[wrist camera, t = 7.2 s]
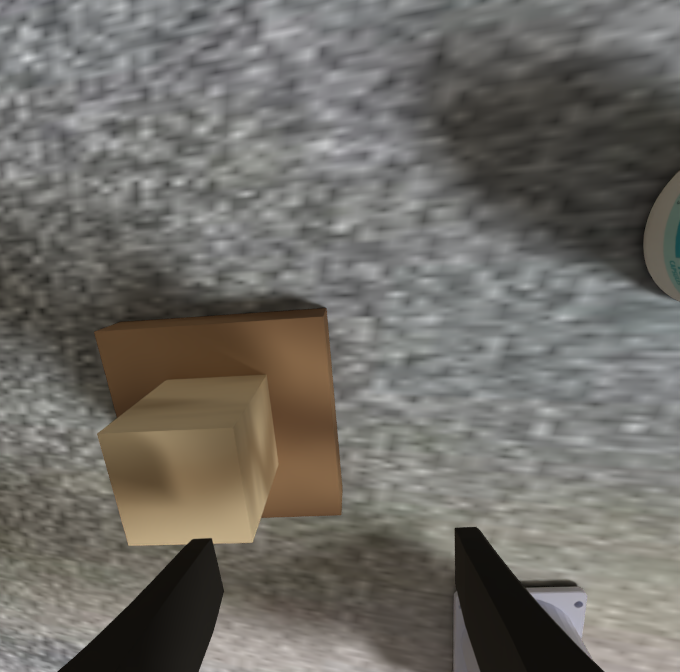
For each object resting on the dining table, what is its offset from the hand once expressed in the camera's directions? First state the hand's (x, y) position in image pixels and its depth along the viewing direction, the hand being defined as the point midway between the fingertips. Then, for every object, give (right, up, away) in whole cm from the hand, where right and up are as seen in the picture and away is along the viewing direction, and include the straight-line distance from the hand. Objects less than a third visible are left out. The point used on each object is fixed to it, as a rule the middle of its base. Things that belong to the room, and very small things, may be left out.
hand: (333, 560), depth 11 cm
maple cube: (-6, +2, +8) cm, 10 cm away
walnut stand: (-6, +2, +10) cm, 11 cm away
